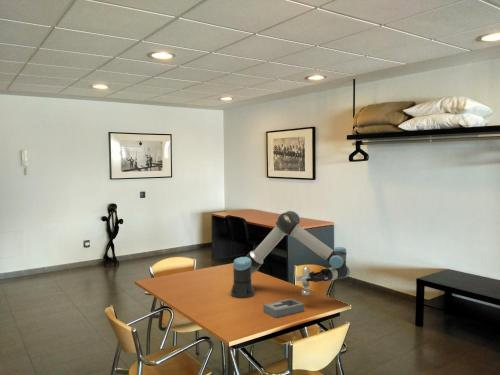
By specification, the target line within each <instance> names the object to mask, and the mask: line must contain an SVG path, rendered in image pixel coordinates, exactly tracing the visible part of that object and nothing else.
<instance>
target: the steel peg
mask: <svg viewBox="0 0 500 375" xmlns="http://www.w3.org/2000/svg"><path fill="white" fill-rule="evenodd" d="M310 268H311V267H309V266H303V267H302V275H303V278H305V277H309V273H310V272H311V270H310ZM302 287H304V288H303V289H301V295H302V296H310V295H311V291H310V290H309V287H310V282H305V283H302Z"/></svg>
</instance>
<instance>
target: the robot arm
mask: <svg viewBox="0 0 500 375" xmlns="http://www.w3.org/2000/svg"><path fill="white" fill-rule="evenodd" d="M300 222H301V219H300V215H299V214H298V213H297V212H296V211H292V210H287V211H286V212H282V213H281V214H280V215H278V217H277V220H276V222H275V226H274V228H273V229H271V231H270V232H269V233H268V234H267V235H266V237H264V239H263V240H262V242H260V243H259V244H258V246H257V247H256V248H255V249H254V250H251V251H250V252H248V253H247V255H245V256H240V257H237V258H235V259H234V260H233V263H232V264H233V265H232V267H233V272H232V273H233V284H232V286H231V287H232V288H231V290H230V296H232V297H234V298H238V299H239V298H240V299H244V298H245V299H247V298H251V297H253V296H254V295H255V290H254V287H253V284H252V274H254V273H256V272H258V271H259V269H260V267H261V266H262V265H263V264H264V260H265V259H266V257H267V256H268V255H269V254H270V253H271V251H273V249H275V247H276V246H277V245H278V244H279V242H281V241H282V239H283V238H284V237H285V236H289V237H293V238H294V239H296V240H297V241H299V242H300V243H301V244H303V245H305V247H307V248H308V249H309V250H311V251H312V252H314V253H315V254H317V255H318V256H320V257H321V258H322V259H324V260H325V261H327V262H328V263H329V265H330V266H331V267H327V268H322V269H321V270H320V271H317V272H315V271H313V270H312V271H310V273H309V277H305V278H303V274H302V275H297V276H295V281H296V282H298V281H300V283H301V284H303V283H305V282H309V283H310V282H314V283H318V282H329V281H333V280H339V279H345V278H348V277H349V276H350V273H351V270H350V268H349V266H347V249H346V248H345V247H342V246H337V247H334V249H332V248H331V247H330V246H328V245H327V244H325V243H324V242H322V241H321V240H320V239H318V238H317V237H316V236H314V235H313V234H311V233H310V232H309V231H307V230H306V229H304V228H303V227H301V225H300Z"/></svg>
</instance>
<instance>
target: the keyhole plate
mask: <svg viewBox="0 0 500 375" xmlns="http://www.w3.org/2000/svg"><path fill="white" fill-rule="evenodd" d="M262 309H263V310H262V311H263V312H264V313H266V314H267V315H270V316H272V317H273V318H277V319H278V318H280V317H285V316H289V315H293V314H298V313H301V312H305V303H302V302H301V301H298V300H296V299H294V298H287V299H282V300H277V301H273V302H268V303H263V308H262Z"/></svg>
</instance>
